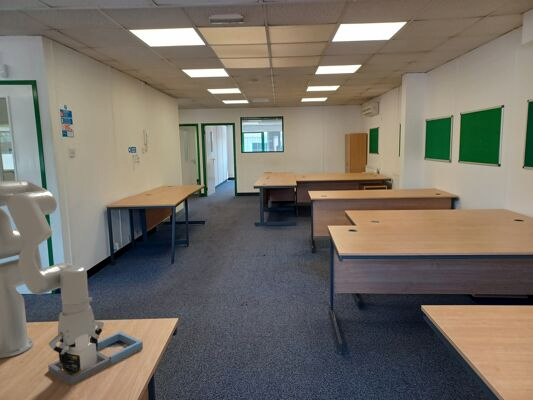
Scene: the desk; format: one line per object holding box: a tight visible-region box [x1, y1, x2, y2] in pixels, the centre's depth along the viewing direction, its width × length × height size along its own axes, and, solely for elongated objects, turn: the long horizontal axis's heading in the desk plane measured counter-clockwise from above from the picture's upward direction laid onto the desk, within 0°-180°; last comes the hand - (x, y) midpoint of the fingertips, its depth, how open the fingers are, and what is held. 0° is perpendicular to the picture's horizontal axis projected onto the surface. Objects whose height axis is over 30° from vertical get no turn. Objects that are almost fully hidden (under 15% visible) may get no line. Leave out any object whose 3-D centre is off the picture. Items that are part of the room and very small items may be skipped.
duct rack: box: [47, 331, 144, 386], centre depth 123 cm, size 13×26×2 cm, turn 145°
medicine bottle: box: [62, 334, 98, 375], centre depth 117 cm, size 7×7×12 cm
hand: (79, 356), depth 117 cm, fingers open, 9 cm apart
